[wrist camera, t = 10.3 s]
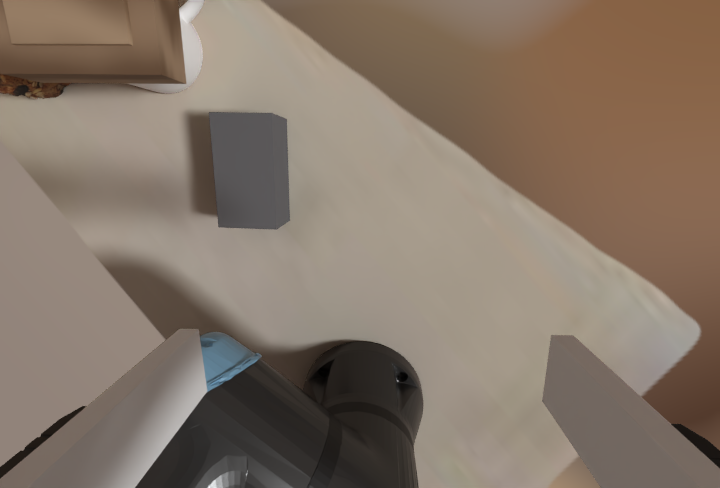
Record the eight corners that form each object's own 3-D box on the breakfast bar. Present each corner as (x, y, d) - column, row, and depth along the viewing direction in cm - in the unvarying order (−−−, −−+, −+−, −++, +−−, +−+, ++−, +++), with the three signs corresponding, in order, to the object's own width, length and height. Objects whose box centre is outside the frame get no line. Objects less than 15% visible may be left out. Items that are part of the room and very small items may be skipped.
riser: (289, 220, 39) (276, 229, 34) (238, 218, 39) (218, 227, 34) (286, 119, 36) (271, 113, 31) (231, 118, 36) (208, 112, 32)
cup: (112, 42, 35) (9, -2, 26) (195, -38, 33) (116, -121, 23) (165, 111, 37) (86, 94, 27) (248, 38, 34) (194, -9, 25)
